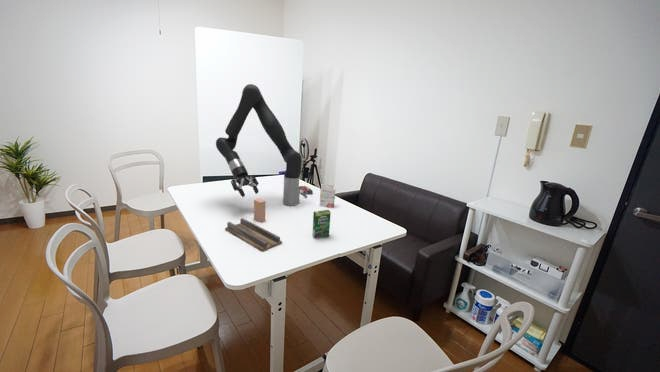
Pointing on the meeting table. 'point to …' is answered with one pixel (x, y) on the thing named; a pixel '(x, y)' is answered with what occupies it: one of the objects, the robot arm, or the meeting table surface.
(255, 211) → the light orange-brown block
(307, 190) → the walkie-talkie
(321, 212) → the coffee box
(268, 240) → the door track
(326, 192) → the ink cartridge box
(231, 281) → the meeting table surface
